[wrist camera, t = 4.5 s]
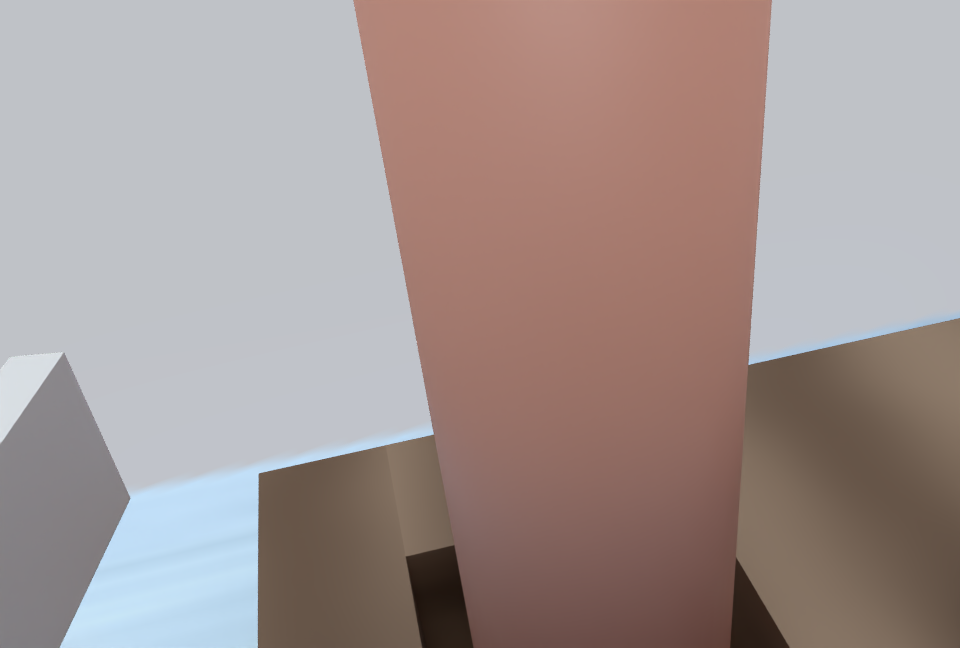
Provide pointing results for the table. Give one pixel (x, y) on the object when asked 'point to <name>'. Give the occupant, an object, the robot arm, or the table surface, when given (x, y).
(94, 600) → the table surface
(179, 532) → the table surface
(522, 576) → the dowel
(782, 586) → the hole board
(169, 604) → the table surface
